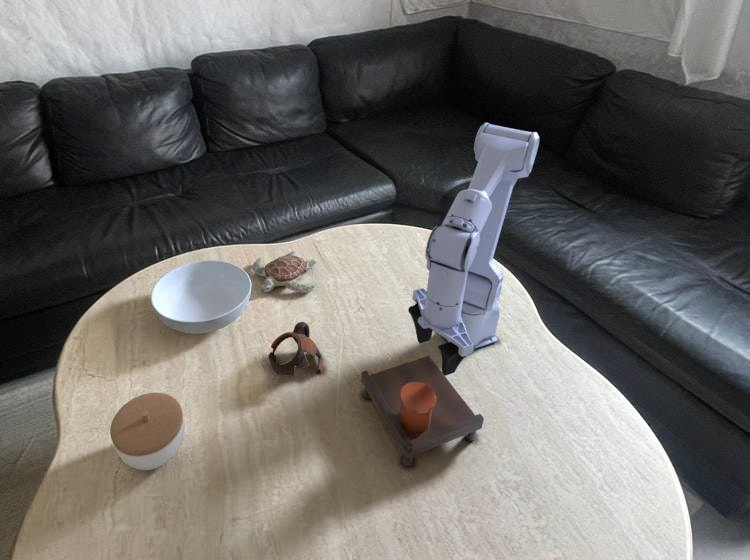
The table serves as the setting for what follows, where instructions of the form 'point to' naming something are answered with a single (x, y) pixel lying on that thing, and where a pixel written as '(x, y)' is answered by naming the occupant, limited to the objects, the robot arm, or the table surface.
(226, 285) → the serving bowl
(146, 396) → the trinket box
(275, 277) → the decorative turtle
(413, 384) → the terracotta pot
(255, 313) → the table surface
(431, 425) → the footed tray
